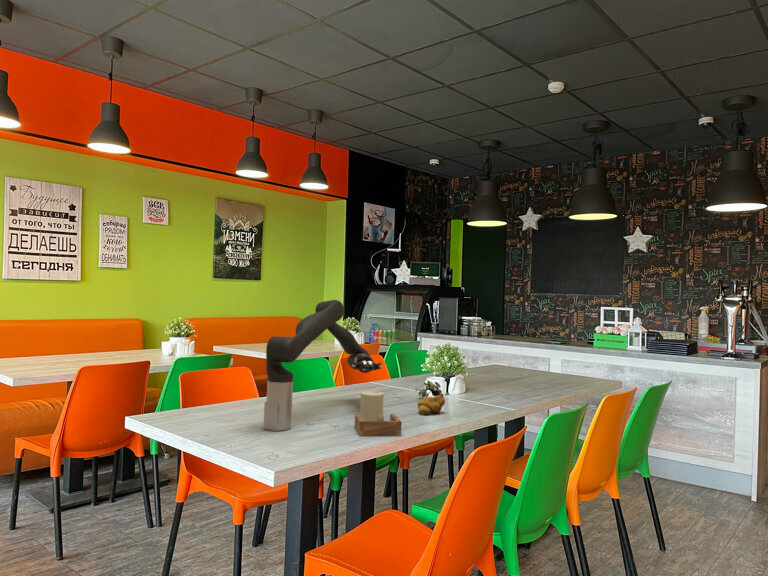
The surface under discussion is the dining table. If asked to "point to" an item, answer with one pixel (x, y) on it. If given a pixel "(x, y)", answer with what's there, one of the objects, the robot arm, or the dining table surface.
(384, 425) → the brown open square box
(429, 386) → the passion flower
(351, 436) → the dining table surface
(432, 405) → the bread roll
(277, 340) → the robot arm
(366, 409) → the can
